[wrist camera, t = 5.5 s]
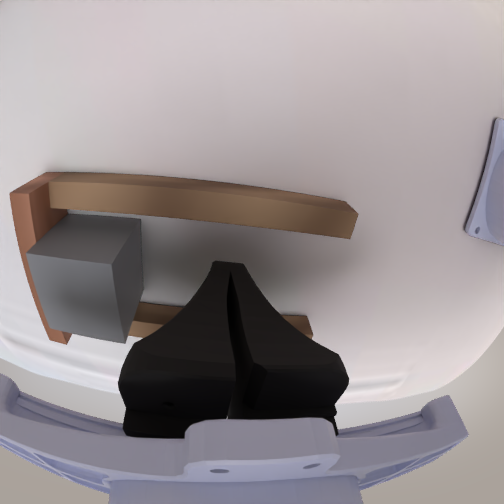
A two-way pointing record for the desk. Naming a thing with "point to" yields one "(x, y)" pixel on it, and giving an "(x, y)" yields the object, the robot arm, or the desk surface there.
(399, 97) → the desk surface
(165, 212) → the channel
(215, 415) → the robot arm
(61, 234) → the grey cube
